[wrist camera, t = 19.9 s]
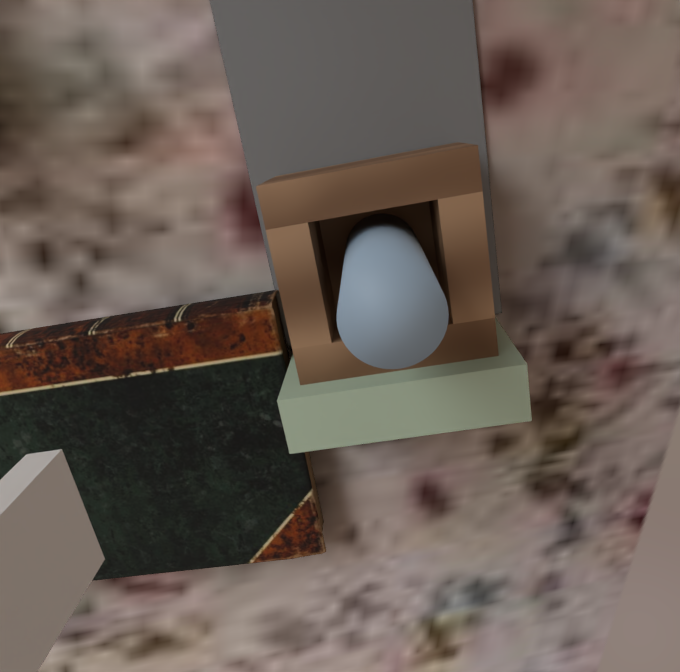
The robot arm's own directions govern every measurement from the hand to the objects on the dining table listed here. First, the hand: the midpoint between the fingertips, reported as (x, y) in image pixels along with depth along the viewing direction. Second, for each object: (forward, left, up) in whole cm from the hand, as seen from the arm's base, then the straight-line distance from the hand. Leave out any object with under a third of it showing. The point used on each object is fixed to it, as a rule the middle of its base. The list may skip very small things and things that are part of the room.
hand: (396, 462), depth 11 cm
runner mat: (-4, 0, -24) cm, 24 cm away
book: (+10, -19, -24) cm, 32 cm away
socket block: (0, 0, -24) cm, 24 cm away
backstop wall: (+7, 0, -24) cm, 25 cm away
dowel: (0, 0, -22) cm, 22 cm away
